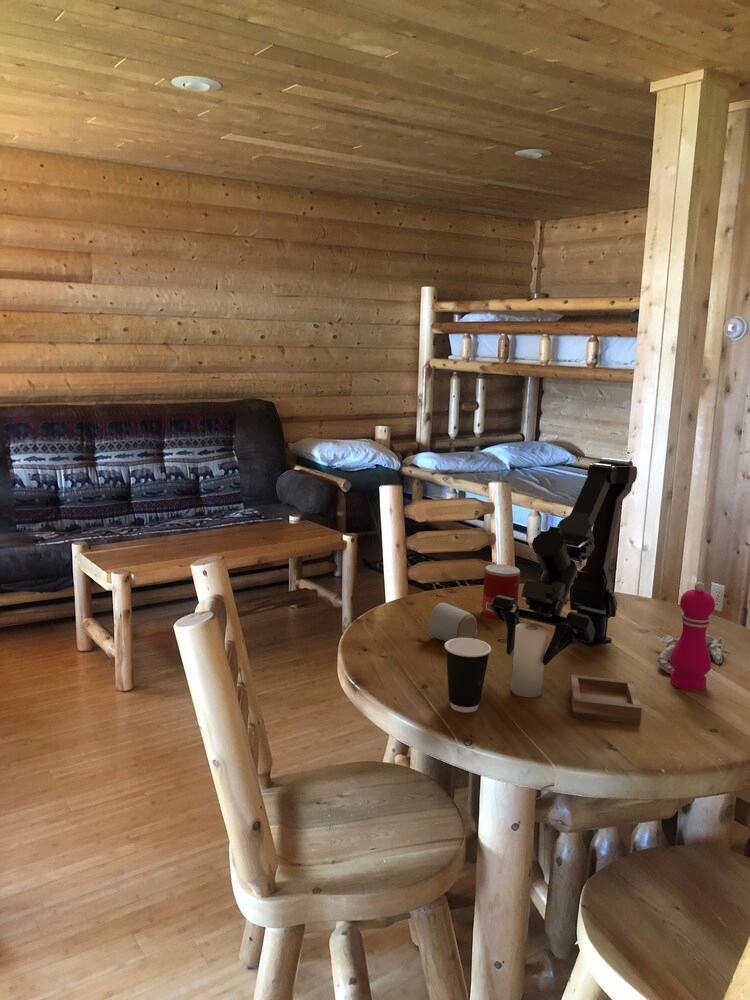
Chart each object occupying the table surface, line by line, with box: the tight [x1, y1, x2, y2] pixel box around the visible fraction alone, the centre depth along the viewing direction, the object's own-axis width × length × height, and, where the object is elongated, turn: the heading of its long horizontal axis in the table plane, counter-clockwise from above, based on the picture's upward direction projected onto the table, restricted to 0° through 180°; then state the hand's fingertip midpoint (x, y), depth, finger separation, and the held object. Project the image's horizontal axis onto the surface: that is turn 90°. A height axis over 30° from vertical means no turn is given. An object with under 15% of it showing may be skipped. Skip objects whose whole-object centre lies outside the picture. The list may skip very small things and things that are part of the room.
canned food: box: [482, 563, 521, 620], centre depth 184 cm, size 8×8×11 cm
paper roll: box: [510, 622, 548, 698], centre depth 144 cm, size 6×6×12 cm
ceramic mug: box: [427, 602, 478, 643], centre depth 168 cm, size 11×8×8 cm
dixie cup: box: [444, 637, 492, 713], centre depth 137 cm, size 8×8×11 cm
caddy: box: [569, 674, 643, 726], centre depth 139 cm, size 11×11×3 cm
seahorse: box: [656, 633, 725, 675], centre depth 161 cm, size 5×12×20 cm
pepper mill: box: [669, 581, 716, 692], centre depth 148 cm, size 7×7×20 cm
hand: (525, 658), depth 142 cm, fingers open, 7 cm apart
